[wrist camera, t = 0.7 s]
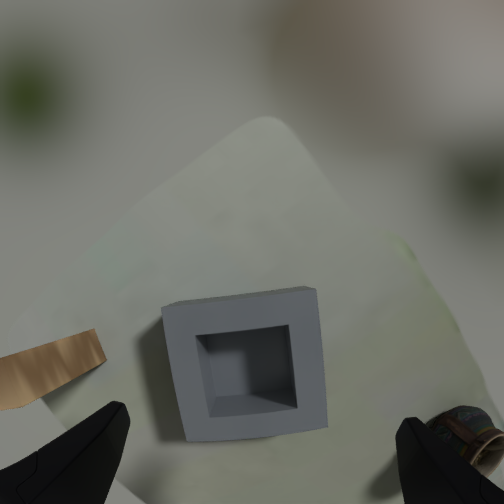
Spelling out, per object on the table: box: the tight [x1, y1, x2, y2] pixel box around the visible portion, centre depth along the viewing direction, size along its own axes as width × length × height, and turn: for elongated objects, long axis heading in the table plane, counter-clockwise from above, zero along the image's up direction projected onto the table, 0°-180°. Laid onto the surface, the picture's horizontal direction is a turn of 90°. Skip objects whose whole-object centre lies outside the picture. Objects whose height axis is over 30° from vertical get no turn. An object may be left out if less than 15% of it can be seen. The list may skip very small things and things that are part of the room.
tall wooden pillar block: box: [0, 329, 107, 410], centre depth 18 cm, size 3×3×12 cm
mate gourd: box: [431, 406, 504, 478], centre depth 18 cm, size 7×8×10 cm
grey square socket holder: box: [161, 286, 328, 442], centre depth 21 cm, size 10×10×5 cm
